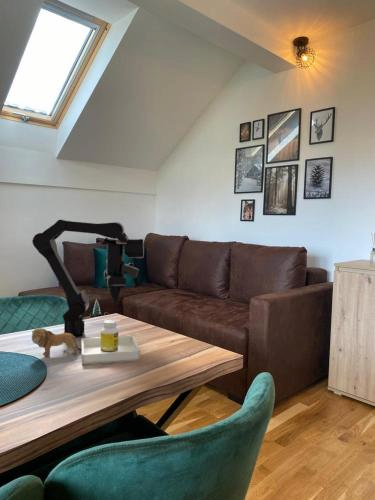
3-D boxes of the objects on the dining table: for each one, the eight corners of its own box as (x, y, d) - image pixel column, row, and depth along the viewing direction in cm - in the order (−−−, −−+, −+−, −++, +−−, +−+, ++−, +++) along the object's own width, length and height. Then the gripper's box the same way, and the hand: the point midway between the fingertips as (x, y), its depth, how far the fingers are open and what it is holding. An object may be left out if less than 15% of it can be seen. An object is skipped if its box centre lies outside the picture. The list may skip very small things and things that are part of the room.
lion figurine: (32, 361, 111) (32, 331, 110) (30, 354, 116) (30, 326, 115) (82, 354, 118) (83, 326, 117) (79, 348, 122) (79, 321, 122)
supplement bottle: (116, 355, 116) (116, 324, 116) (98, 354, 116) (99, 323, 116) (119, 348, 122) (120, 319, 121) (102, 348, 122) (103, 318, 121)
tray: (82, 365, 109) (82, 355, 109) (81, 347, 124) (81, 338, 123) (140, 360, 114) (140, 350, 114) (132, 343, 129) (133, 335, 128)
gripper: (141, 260, 128) (140, 305, 129) (133, 254, 146) (132, 294, 147) (108, 260, 125) (107, 306, 126) (104, 254, 142) (103, 294, 144)
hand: (114, 300), depth 136 cm, fingers open, 9 cm apart
